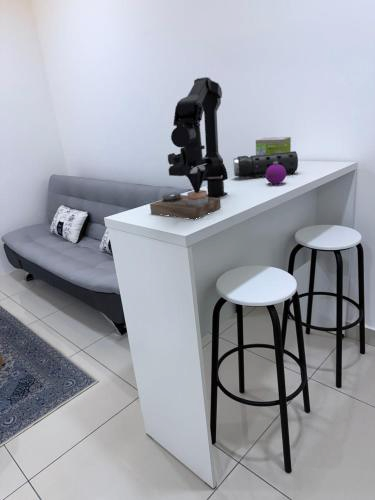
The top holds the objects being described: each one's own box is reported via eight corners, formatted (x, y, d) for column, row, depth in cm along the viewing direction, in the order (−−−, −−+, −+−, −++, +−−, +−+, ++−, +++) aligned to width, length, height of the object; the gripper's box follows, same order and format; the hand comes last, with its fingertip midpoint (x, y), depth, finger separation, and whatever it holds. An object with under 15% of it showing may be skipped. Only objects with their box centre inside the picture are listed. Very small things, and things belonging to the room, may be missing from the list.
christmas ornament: (261, 185, 148) (261, 161, 144) (273, 181, 153) (273, 157, 149) (278, 186, 142) (278, 161, 139) (290, 182, 147) (290, 158, 143)
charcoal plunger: (172, 205, 131) (170, 191, 129) (185, 207, 127) (183, 193, 125) (160, 210, 126) (158, 196, 124) (173, 212, 122) (171, 197, 120)
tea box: (255, 169, 185) (254, 139, 179) (264, 165, 192) (263, 137, 187) (283, 169, 176) (283, 138, 171) (291, 165, 183) (291, 136, 178)
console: (177, 203, 134) (176, 194, 133) (220, 208, 121) (220, 198, 120) (151, 213, 124) (149, 203, 123) (194, 220, 112) (193, 209, 110)
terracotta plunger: (197, 204, 123) (195, 189, 121) (211, 206, 118) (210, 190, 117) (185, 209, 118) (183, 194, 116) (199, 211, 114) (198, 195, 112)
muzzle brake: (298, 175, 160) (298, 151, 156) (236, 181, 162) (234, 158, 158) (292, 171, 169) (292, 149, 165) (233, 177, 171) (232, 155, 167)
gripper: (191, 140, 122) (196, 185, 128) (153, 148, 110) (159, 197, 115) (217, 139, 115) (221, 186, 121) (179, 147, 102) (185, 200, 108)
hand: (197, 192), depth 116 cm, fingers closed, pressing on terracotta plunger
